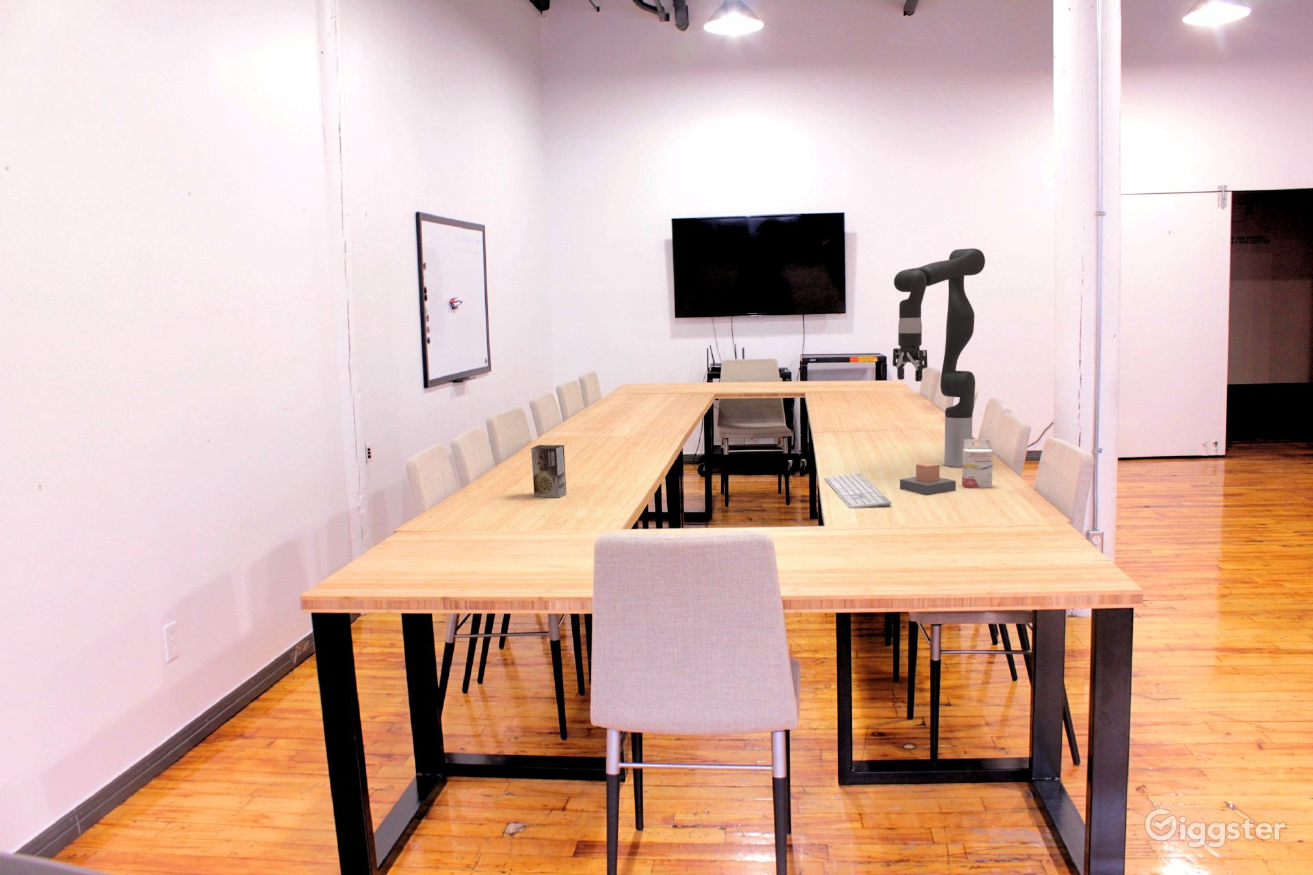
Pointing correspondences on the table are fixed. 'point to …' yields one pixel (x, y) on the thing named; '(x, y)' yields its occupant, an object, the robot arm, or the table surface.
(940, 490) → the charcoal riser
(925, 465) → the terracotta cube
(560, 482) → the coffee box
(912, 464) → the table surface
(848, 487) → the keyboard
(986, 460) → the ink cartridge box
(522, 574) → the table surface
